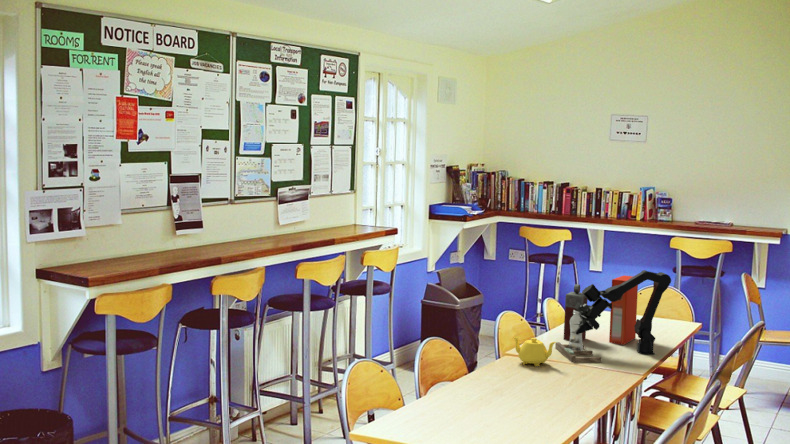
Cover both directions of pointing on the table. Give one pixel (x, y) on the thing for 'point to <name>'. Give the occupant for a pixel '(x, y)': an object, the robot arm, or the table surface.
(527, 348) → the teapot
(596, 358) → the comb rack
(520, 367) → the table surface
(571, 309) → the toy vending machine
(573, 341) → the plastic bottle
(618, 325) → the file binder
